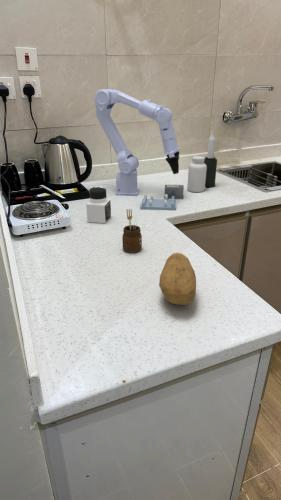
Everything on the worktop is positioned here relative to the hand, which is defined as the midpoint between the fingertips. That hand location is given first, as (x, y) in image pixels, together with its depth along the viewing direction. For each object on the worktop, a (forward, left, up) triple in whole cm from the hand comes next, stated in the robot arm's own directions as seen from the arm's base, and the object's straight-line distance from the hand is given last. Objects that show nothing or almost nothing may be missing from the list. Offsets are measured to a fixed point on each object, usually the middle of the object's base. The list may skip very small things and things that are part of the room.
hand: (176, 171), depth 150 cm
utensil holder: (-13, -52, -11) cm, 54 cm away
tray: (-7, -12, -11) cm, 17 cm away
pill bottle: (+9, +10, -11) cm, 18 cm away
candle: (+15, +17, -11) cm, 26 cm away
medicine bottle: (-28, -29, -11) cm, 41 cm away
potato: (+1, -77, -11) cm, 78 cm away
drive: (-1, -1, -11) cm, 11 cm away
